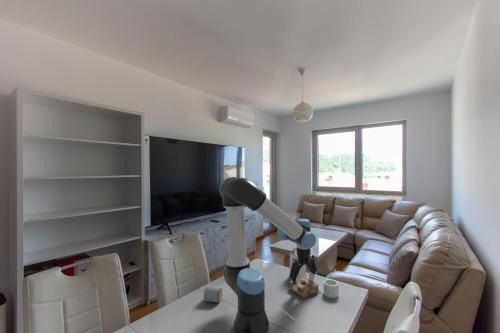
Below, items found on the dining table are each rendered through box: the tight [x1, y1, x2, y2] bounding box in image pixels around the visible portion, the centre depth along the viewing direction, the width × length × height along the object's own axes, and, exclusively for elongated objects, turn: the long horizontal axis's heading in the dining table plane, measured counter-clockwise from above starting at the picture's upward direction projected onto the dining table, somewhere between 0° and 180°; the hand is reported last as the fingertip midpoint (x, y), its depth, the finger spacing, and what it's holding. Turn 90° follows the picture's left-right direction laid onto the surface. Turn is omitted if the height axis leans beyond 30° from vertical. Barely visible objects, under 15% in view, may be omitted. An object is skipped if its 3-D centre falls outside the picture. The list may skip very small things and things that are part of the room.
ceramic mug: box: [203, 284, 223, 303], centre depth 127 cm, size 11×8×8 cm
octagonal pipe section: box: [323, 278, 340, 299], centre depth 130 cm, size 7×7×7 cm
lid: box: [288, 277, 319, 298], centre depth 133 cm, size 11×11×5 cm
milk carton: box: [289, 246, 307, 279], centre depth 151 cm, size 7×7×19 cm
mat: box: [286, 288, 322, 301], centre depth 133 cm, size 14×13×1 cm
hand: (303, 287), depth 133 cm, fingers closed on lid, 11 cm apart
